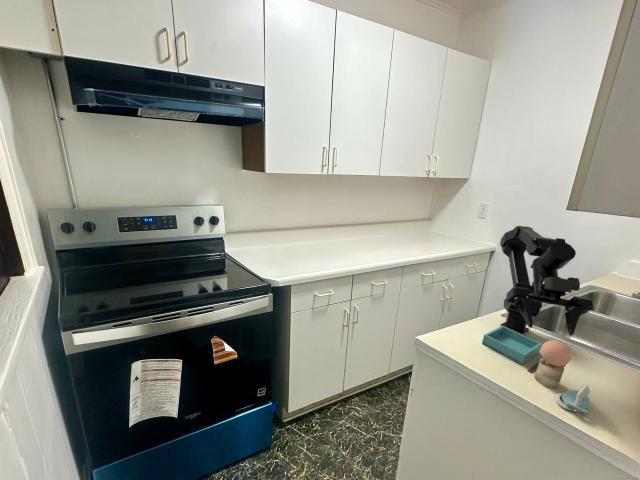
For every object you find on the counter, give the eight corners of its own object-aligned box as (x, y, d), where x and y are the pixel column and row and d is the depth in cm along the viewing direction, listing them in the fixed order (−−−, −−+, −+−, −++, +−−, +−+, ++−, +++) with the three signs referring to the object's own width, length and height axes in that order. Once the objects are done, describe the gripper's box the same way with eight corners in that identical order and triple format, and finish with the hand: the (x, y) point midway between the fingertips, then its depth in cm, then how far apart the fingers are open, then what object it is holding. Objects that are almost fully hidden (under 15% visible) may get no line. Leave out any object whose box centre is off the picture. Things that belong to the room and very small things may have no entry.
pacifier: (551, 405, 72) (584, 421, 68) (558, 382, 71) (592, 397, 67) (558, 391, 77) (589, 405, 73) (564, 368, 76) (597, 381, 72)
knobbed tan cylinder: (539, 372, 83) (545, 352, 82) (561, 383, 79) (568, 363, 78) (531, 378, 80) (537, 358, 79) (553, 391, 77) (560, 370, 75)
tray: (500, 333, 101) (502, 325, 100) (539, 352, 92) (542, 343, 91) (481, 343, 94) (484, 334, 94) (521, 365, 86) (524, 355, 85)
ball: (543, 353, 83) (549, 333, 81) (570, 366, 78) (578, 345, 76) (533, 360, 79) (540, 339, 78) (561, 374, 75) (568, 352, 73)
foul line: (548, 355, 91) (548, 354, 91) (552, 356, 91) (552, 356, 91) (527, 370, 83) (527, 370, 83) (531, 373, 83) (531, 372, 83)
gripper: (520, 258, 84) (523, 313, 77) (602, 270, 80) (614, 330, 72) (505, 275, 94) (506, 326, 86) (577, 287, 89) (586, 342, 82)
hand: (550, 331), depth 82 cm, fingers open, 9 cm apart
